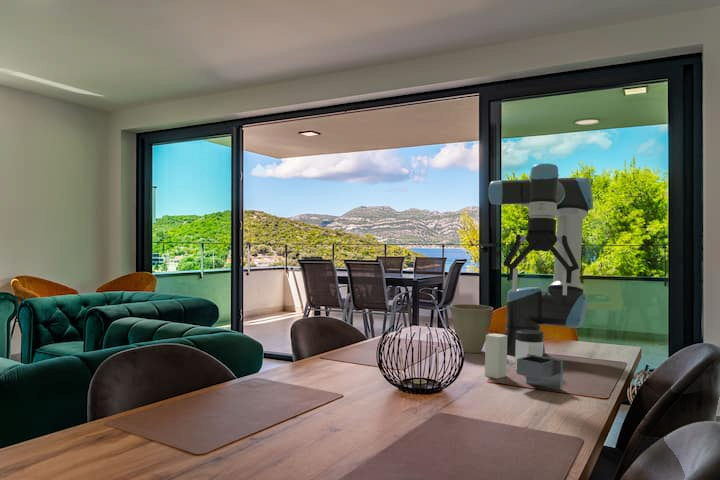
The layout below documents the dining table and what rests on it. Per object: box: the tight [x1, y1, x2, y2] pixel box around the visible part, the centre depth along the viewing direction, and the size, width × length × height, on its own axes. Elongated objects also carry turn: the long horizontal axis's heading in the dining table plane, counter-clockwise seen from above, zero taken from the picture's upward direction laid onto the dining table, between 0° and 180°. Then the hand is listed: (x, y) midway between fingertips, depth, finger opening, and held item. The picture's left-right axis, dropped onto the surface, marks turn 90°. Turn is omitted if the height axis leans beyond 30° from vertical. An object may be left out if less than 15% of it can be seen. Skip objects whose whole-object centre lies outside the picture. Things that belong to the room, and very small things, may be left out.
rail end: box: [484, 333, 508, 380], centre depth 161 cm, size 4×4×12 cm
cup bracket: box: [516, 354, 564, 391], centre depth 148 cm, size 9×10×8 cm
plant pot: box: [450, 303, 494, 354], centre depth 196 cm, size 15×15×16 cm
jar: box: [514, 329, 545, 372], centre depth 169 cm, size 9×8×12 cm
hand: (539, 293), depth 154 cm, fingers open, 13 cm apart
